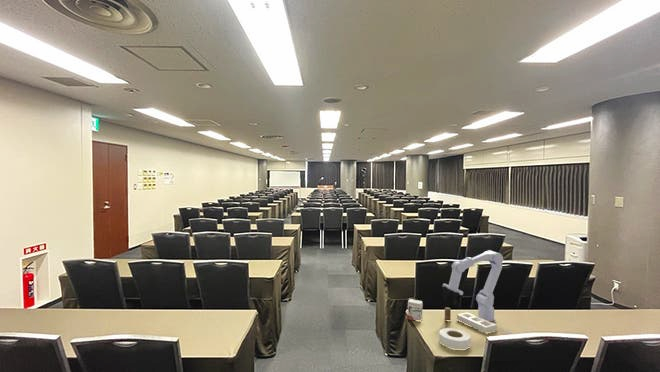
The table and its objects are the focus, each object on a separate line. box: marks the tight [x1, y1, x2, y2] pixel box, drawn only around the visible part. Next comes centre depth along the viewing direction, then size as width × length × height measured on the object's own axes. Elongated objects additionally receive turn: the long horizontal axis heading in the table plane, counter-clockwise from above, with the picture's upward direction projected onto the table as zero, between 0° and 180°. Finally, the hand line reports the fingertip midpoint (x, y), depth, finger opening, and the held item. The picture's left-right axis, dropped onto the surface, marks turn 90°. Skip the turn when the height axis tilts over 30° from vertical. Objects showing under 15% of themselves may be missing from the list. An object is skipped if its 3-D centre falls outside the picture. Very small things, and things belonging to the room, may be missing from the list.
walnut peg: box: [444, 307, 452, 321], centre depth 205 cm, size 4×4×8 cm
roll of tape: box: [438, 327, 471, 349], centre depth 175 cm, size 16×16×6 cm
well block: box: [456, 312, 498, 333], centre depth 198 cm, size 9×21×4 cm, turn 27°
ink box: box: [407, 298, 424, 321], centre depth 207 cm, size 9×5×12 cm, turn 62°
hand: (449, 301), depth 204 cm, fingers open, 7 cm apart
